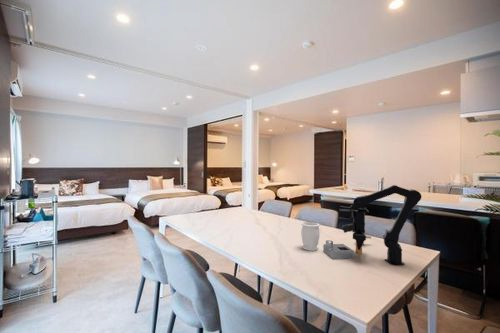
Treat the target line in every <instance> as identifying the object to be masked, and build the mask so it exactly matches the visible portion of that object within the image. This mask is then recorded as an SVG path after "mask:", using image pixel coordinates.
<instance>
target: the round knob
mask: <svg viewBox="0 0 500 333" xmlns="http://www.w3.org/2000/svg"><path fill="white" fill-rule="evenodd" d="M355 254H359V255H362V254H363V246H362V247H361V249H360V250H358V248H357V243H356V242H355Z"/></svg>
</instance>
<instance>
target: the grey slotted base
mask: <svg viewBox="0 0 500 333" xmlns="http://www.w3.org/2000/svg"><path fill="white" fill-rule="evenodd" d="M323 252H324V253H325V254H326V255H327V256H328V257H330V259H332V260H345V259H349V260H350V259H351V260H353V259H355V250H354V249H352V248H350V247H349V246H347V245H345V244H344V243H334V241H333V240H329V239H328V240H325V243H324V244H323Z"/></svg>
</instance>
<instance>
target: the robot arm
mask: <svg viewBox="0 0 500 333" xmlns="http://www.w3.org/2000/svg"><path fill="white" fill-rule="evenodd" d="M394 194H396V195H398V196H402V197H404V201H403V204H402V207H401V209H400V211H399V213H398V215H397V217H396V219H395V221H394V223H393V224H392V227H391V228H390V229H389V230H388V229H386V230H385V233H384V234H383V235H382V237H383V238H382V239H383V243H384V246H385V247H386V248H387V254H386V255H387V256H386V257H387V258H385V259H384V261H385V262H387V263H389V264H391V265H393V266H398V265H399V266H401V265H405V263H404V261H402V260H403V258H402V257H403V253H402V251H403V249H402V248H403V247H402V246H401V245H400V243H399V240H400V233H401V231H402V230H403V228H404V226H405V224H406V222H407V219H408V218H409V216H410V213H411V212H412V210H413V209H414V207H416V205H418V204H419V202H420V201H421V199H422V194H421V192H420V191H419V190H416V189H406V188H404V187H400V186H398V185H396V184H394V185H391V186H389V187H386V188H384V189H380V190H378V191H376V192H372V193H370V194H366V195H360V196H356V197H355V198H354V199H353V201H352V204H351V205H350V206H344V205H340V206H339V212H338V219H345V220H351V218H352V219H353V220H352V223H348V224H343V225H342V226H341V228H342V230H343V233H344V234H345V233H348V232H353V233H352V239H353V240H354V241H355V244H356V243H357V248H358V250H360V249H361V247H362V248H363V246H364V245H363V243H364V244H365V241H366V240H367V238H366V235H367V234H365V233H366V213H367V214H369V213H370V212H369V210H368V209H367V206H368V205H369V204H371V203H372V202H375V201H377V200H380V199H381V200H382V199H383V198H386V197H390V196H392V195H394Z"/></svg>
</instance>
